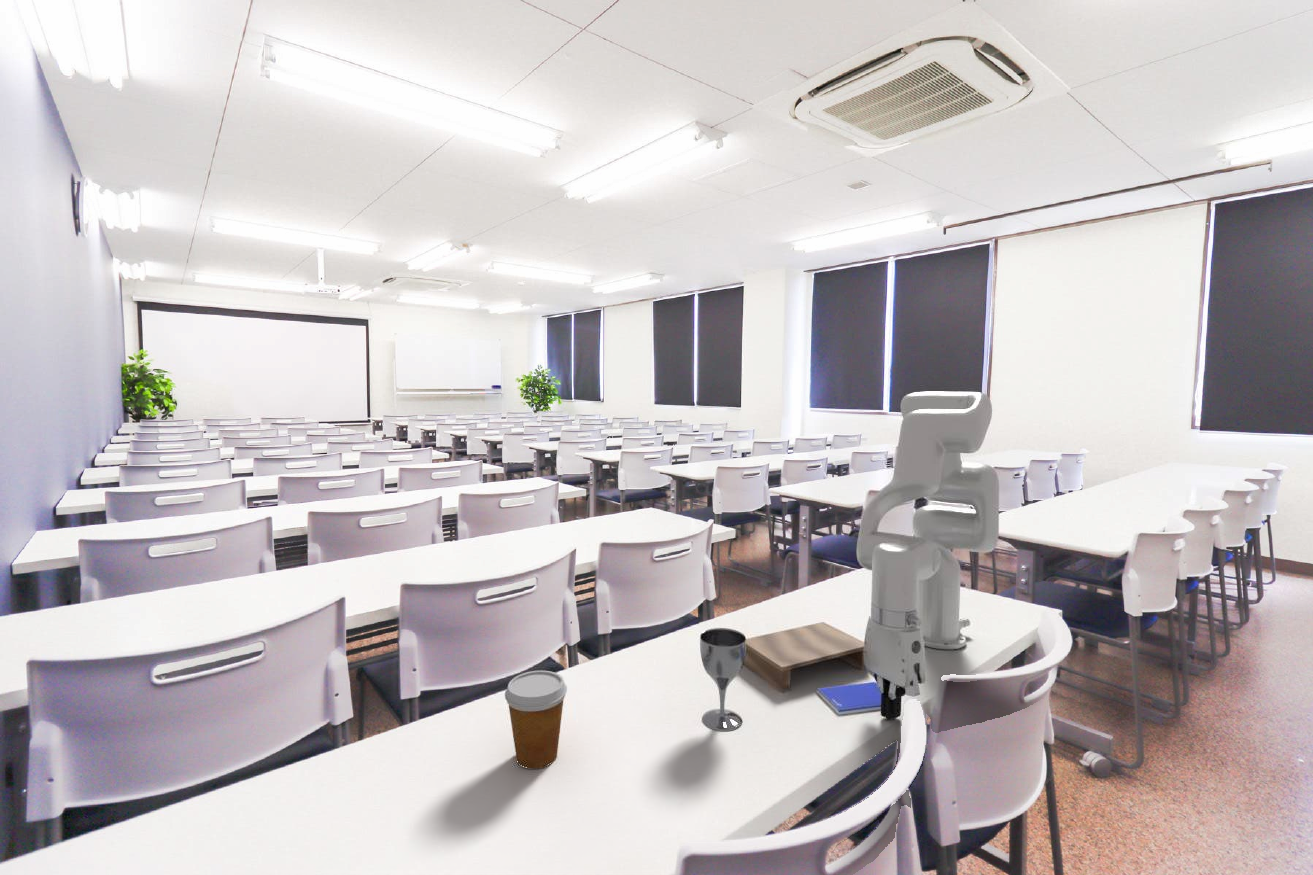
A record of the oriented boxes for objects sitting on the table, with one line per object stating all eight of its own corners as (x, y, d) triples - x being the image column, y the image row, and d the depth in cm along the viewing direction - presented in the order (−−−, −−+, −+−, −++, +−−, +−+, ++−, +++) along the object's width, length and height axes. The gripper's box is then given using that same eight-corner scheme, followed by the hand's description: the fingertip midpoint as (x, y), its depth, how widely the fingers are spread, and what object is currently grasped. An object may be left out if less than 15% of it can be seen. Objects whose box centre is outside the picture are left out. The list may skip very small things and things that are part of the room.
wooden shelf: (822, 642, 135) (823, 621, 135) (869, 668, 122) (869, 644, 122) (740, 662, 125) (740, 640, 124) (781, 692, 112) (782, 667, 112)
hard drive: (838, 709, 104) (900, 701, 107) (816, 687, 112) (874, 680, 115) (838, 717, 104) (899, 709, 107) (816, 695, 112) (873, 688, 115)
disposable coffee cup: (538, 784, 85) (537, 705, 85) (492, 762, 91) (491, 687, 90) (579, 751, 94) (579, 678, 93) (536, 732, 99) (535, 664, 98)
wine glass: (715, 737, 97) (716, 650, 96) (691, 714, 104) (691, 632, 103) (754, 725, 101) (755, 640, 100) (728, 703, 108) (728, 624, 107)
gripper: (946, 626, 97) (942, 732, 98) (875, 598, 110) (873, 692, 112) (914, 634, 94) (911, 744, 95) (846, 604, 107) (843, 701, 108)
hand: (890, 715), depth 103 cm, fingers closed
